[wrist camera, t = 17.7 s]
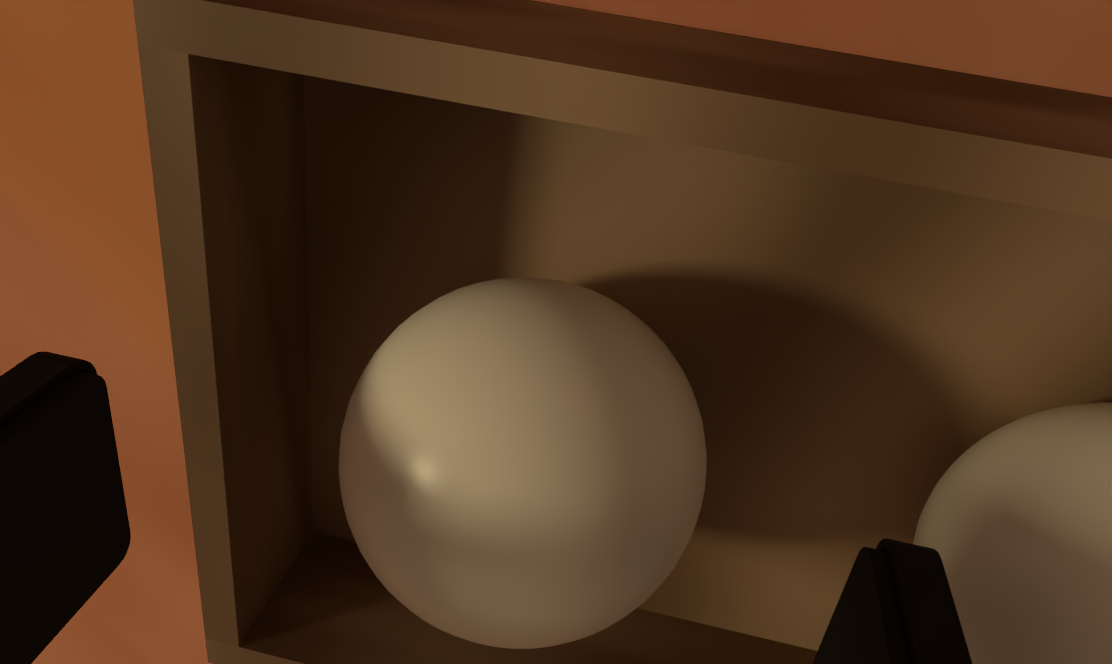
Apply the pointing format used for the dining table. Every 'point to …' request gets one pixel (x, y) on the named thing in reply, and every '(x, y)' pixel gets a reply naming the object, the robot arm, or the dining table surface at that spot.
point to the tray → (607, 284)
